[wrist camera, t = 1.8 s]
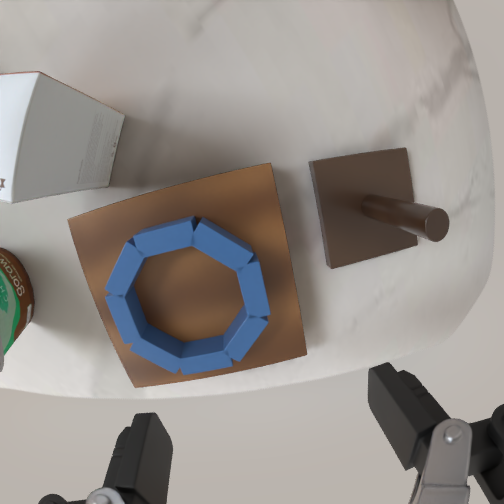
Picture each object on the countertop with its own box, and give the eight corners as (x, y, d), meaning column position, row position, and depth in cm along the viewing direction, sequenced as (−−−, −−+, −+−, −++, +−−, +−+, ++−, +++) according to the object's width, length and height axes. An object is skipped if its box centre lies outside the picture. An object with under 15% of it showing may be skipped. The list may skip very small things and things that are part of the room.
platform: (83, 214, 23) (67, 219, 20) (265, 163, 23) (270, 162, 20) (141, 369, 27) (134, 388, 24) (299, 337, 28) (307, 355, 25)
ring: (100, 241, 21) (87, 248, 18) (244, 203, 21) (246, 206, 19) (147, 364, 24) (141, 381, 21) (275, 339, 24) (280, 355, 22)
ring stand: (308, 161, 24) (362, 156, 14) (399, 148, 24) (477, 143, 14) (326, 265, 26) (379, 316, 16) (411, 242, 26) (483, 275, 16)
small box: (127, 114, 21) (42, 69, 9) (109, 188, 23) (12, 208, 10) (51, 106, 20) (-48, 79, 8) (36, 174, 22) (-68, 186, 9)
